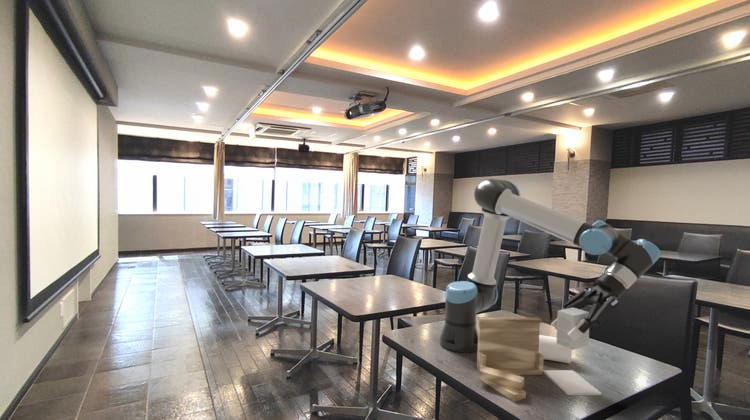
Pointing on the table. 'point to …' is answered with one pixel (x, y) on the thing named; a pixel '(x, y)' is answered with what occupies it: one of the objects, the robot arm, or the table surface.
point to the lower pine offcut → (507, 391)
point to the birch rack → (510, 345)
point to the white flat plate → (571, 382)
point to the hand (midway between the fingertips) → (562, 332)
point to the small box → (566, 323)
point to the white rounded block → (554, 350)
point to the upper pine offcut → (501, 378)
